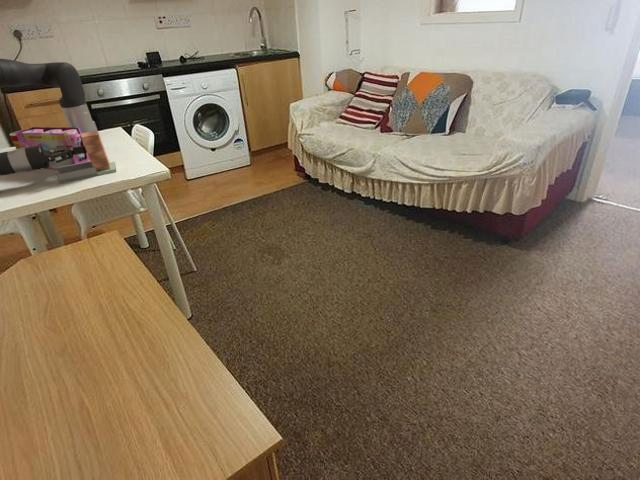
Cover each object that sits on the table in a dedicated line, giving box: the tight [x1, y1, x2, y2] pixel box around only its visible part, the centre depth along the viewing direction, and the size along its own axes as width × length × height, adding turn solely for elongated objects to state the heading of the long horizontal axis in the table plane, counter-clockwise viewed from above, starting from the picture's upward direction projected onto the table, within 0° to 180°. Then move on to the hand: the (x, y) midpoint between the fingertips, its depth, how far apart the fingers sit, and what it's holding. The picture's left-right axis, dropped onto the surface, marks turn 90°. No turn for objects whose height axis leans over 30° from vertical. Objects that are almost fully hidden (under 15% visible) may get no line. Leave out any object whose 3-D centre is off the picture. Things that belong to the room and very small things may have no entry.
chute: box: [54, 161, 117, 184], centre depth 137 cm, size 18×9×3 cm, turn 116°
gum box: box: [15, 126, 90, 170], centre depth 144 cm, size 24×8×14 cm, turn 74°
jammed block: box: [81, 130, 111, 171], centre depth 136 cm, size 5×6×12 cm
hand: (86, 148), depth 134 cm, fingers closed
